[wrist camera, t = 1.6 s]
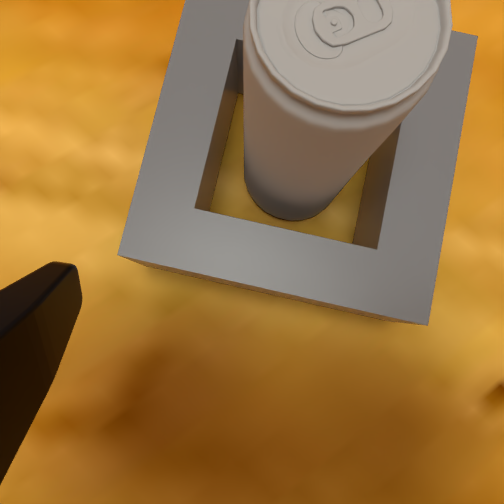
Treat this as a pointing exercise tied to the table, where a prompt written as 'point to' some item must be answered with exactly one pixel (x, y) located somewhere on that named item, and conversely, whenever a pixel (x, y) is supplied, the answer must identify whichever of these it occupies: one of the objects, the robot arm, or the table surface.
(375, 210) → the can holder
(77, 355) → the table surface
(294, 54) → the beverage can
